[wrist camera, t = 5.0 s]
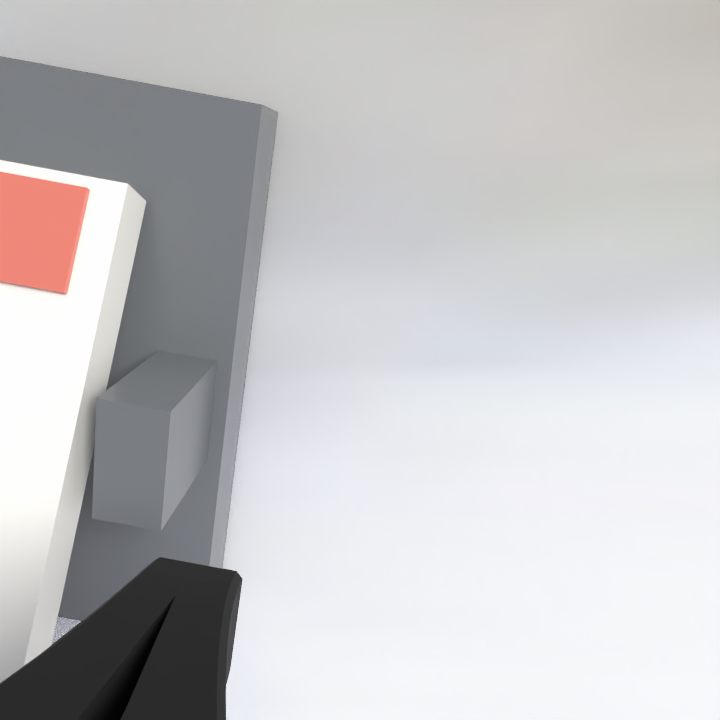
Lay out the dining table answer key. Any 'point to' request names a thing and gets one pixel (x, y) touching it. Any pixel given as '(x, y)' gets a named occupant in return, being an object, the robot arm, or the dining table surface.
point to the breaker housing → (158, 306)
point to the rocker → (52, 376)
